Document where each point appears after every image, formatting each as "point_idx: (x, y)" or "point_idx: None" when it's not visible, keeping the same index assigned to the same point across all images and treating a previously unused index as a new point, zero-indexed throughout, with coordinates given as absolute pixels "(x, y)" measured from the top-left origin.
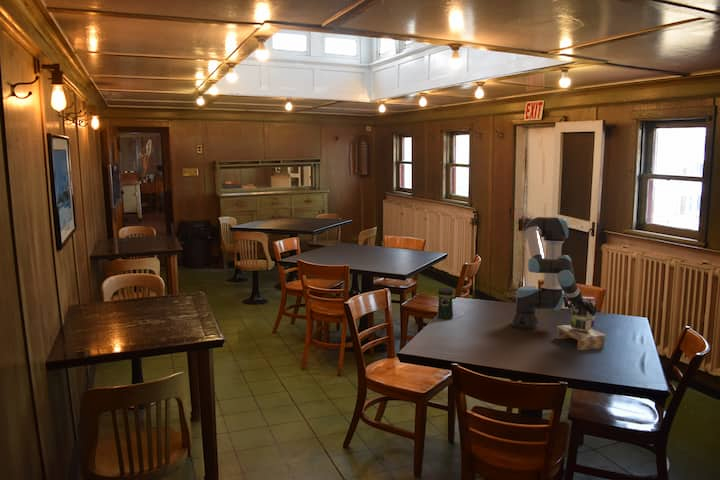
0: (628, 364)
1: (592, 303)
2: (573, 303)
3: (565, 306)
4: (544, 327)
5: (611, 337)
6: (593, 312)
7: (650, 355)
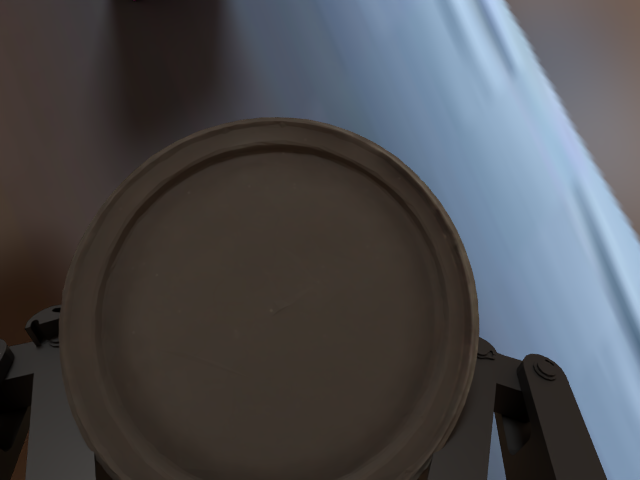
0: (620, 442)
1: (432, 206)
2: (123, 472)
3: (16, 413)
4: (4, 177)
5: (373, 83)
6: (516, 431)
7: (616, 215)
